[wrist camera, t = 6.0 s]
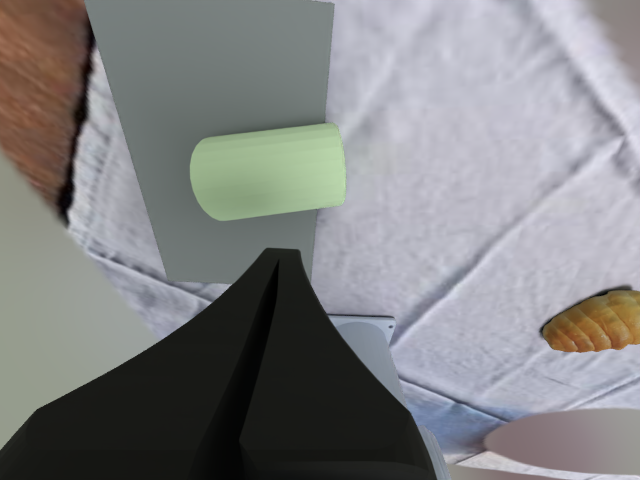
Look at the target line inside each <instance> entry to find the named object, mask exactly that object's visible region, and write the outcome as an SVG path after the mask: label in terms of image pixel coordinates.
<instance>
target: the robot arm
mask: <svg viewBox="0 0 640 480" xmlns="http://www.w3.org/2000/svg"><path fill="white" fill-rule="evenodd" d="M395 326H396V320H395V319H394V318H383V317H356V316H329V315H327V314H326V312H325V311H324V309H323V307H322V305H321V304H320V302H319V300H318V298H317V296H316V294H315V292H314V290H313V288H312V286H311V284H310V281H309V279H308V277H307V274H306V272H305V269H304V266H303V262H302V258H301V251H300V250H299V249H286V248H265V249H264V250H263V252H262V253H261V254H260V255H259V256H258V258H257V259H256V260H255V261H254V262H253V263H252V265H251V266H250V267H249V268H248V269H247V270H246V271H245V272H244V273H243V274H242V275H241V276H240V277H239V278H238V280H237V281H236V282H235V283H233V284H232V285H231V286H230V287H229V288H228V289H227V290H226V291H225V292H224V293H223V294H222V295H221V296H220V297H218V298H217V299H216V300H215V301H214V302H213V303H211V304H210V305H209V306H208V307H207V308H205V309H204V310H203V311H202V312H200V313H199V314H198V315H197V316H195V317H194V318H193V319H191V320H190V321H188V322H187V323H186V324H184V325H183V326H181V327H180V328H178V329H177V330H176V331H174V332H173V333H171V334H170V335H168V336H167V337H165V338H164V339H162V340H161V341H159V342H158V343H156V344H155V345H153V346H151V347H150V348H148V349H147V350H145V351H143V352H142V353H140V354H138V355H137V356H135V357H133V358H132V359H130V360H128V361H126V362H125V363H123V364H121V365H120V366H118V367H116V368H114V369H113V370H111V371H109V372H107V373H105V374H104V375H102V376H100V377H98V378H96V379H94V380H92V381H91V382H89V383H87V384H85V385H83V386H81V387H79V388H77V389H75V390H73V391H71V392H70V393H68V394H66V395H64V396H62V397H60V398H58V399H56V400H54V401H52V402H50V403H48V404H46V405H44V406H43V407H41V408H39V409H37V410H36V411H35V412H34V413H33V414H32V415H31V416H30V417H29V418H28V420H27V421H26V422H25V423H24V424H23V425H22V426H21V427H20V428H19V430H18V431H17V432H16V433H15V434H14V435H13V436H12V437H11V439H10V440H9V441H8V442H7V443H6V444H5V445H4V447H3V448H2V449H1V450H0V480H452V479H451V476H450V473H449V471H448V468H447V465H446V462H445V460H444V457H443V454H442V452H441V449H440V447H439V444H438V442H437V440H436V438H435V436H434V434H433V433H432V432H430V431H429V430H427V429H426V427H425V426H424V425H421V426H418V427H417V425H416V423H415V421H414V419H413V417H412V415H411V413H410V411H409V410H408V408H407V404H406V401H405V398H404V395H403V391H402V388H401V385H400V381H399V378H398V375H397V372H396V368H395V365H394V362H393V358H392V355H391V352H390V349H389V343H390V340H391V337H392V334H393V331H394V329H395Z"/></svg>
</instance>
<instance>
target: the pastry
mask: <svg viewBox="0 0 640 480" xmlns="http://www.w3.org/2000/svg"><path fill="white" fill-rule="evenodd" d="M542 332H543V337H544V339H545V340H546V341H547V342H548V344H549V346H550V347H551V348H552V349H554V350H560V351H564V352H579V353H581V352H588V351H595V352H599V351H601V350H605V349H616V350H621V349H623V348H624V347H625V346H627V345H628V344H635V345H636V344H640V291H633V290H614V291H608V294H606V295H604V296H595V297H592V298H590V299H588V300H585V301H583V302H582V303H581V304H578V305H575V306H573V307H572V308H570V309H568V310H566V311H564V312H562V313H561V314H559V315H557V316H555V317H554V318H553V319H552V321H551V322H550V323H548V324H547V325H545V326H544V329H543V331H542Z"/></svg>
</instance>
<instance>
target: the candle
mask: <svg viewBox="0 0 640 480" xmlns="http://www.w3.org/2000/svg"><path fill="white" fill-rule="evenodd" d="M190 180H191V184H192V189H193V192H194V194H195V197H196V199H197V201H198V203H199V204H200V206H201V207H202V209H203V210H204V211H205V212H206V213H207V214H208V215H209V216H211V217H212V218H214V219H216V220H219V221H229V220H236V219H244V218H251V217H259V216H266V215H274V214H281V213H289V212H296V211H304V210H311V209H319V208H326V207H334V206H341V205H342V204H343V203H344V201H345V196H346V168H345V157H344V150H343V144H342V139H341V135H340V131H339V129H338V127H337V125H336V124H334V123H325V124H316V125H308V126H299V127H290V128H282V129H273V130H265V131H256V132H248V133H239V134H231V135H222V136H214V137H208V138H205V139H202V140H201V141H200V142H199V143H198V144H197V145H196V147H195V149H194V151H193V153H192V156H191V162H190Z"/></svg>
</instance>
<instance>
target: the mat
mask: <svg viewBox="0 0 640 480" xmlns="http://www.w3.org/2000/svg"><path fill="white" fill-rule="evenodd" d="M84 2H85V5H86V9H87V12H88V15H89V19H90V22H91V25H92V29H93V32H94V35H95V39H96V42H97V45H98V49H99V52H100V55H101V59H102V62H103V65H104V69H105V72H106V75H107V79H108V82H109V85H110V89H111V92H112V95H113V99H114V102H115V105H116V109H117V112H118V115H119V119H120V122H121V125H122V129H123V132H124V135H125V139H126V142H127V145H128V149H129V152H130V155H131V159H132V162H133V165H134V169H135V172H136V175H137V178H138V182H139V185H140V188H141V192H142V195H143V198H144V202H145V205H146V208H147V212H148V215H149V218H150V222H151V225H152V228H153V232H154V235H155V238H156V242H157V245H158V248H159V252H160V255H161V258H162V262H163V265H164V268H165V272H166V275H167V278H168V281H180V282H202V283H225V284H233V283H235V282H236V281H237V280H238V278H239V277H240V276H241V275H242V274H243V273H244V272H245V271H246V270H247V269H248V268H249V267H250V266H251V265H252V263H253V262H254V261H255V260H256V259H257V258H258V256H259V255H260V254H261V253H262V252H263V250H264V249H265V248H286V249H299V250H300V251H301V258H302V262H303V266H304V269H305V272H306V274H307V277H308V279H309V281H310V284H311V273H312V262H313V250H314V238H315V227H316V215H317V209H311V210H304V211H296V212H289V213H281V214H274V215H266V216H259V217H251V218H244V219H236V220H229V221H219V220H216V219H214V218H212V217H211V216H209V215H208V214H207V213H206V212H205V211H204V210H203V209H202V207H201V206H200V204H199V203H198V201H197V199H196V197H195V194H194V192H193V189H192V184H191V180H190V162H191V156H192V153H193V151H194V149H195V147H196V145H197V144H198V143H199V142H200V141H201V140H202V139H205V138H208V137H214V136H222V135H231V134H239V133H248V132H256V131H265V130H273V129H282V128H290V127H299V126H308V125H316V124H324V122H325V110H326V98H327V87H328V75H329V63H330V52H331V40H332V28H333V17H334V5H335V4H334V3H326V2H318V1H310V0H84Z"/></svg>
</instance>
